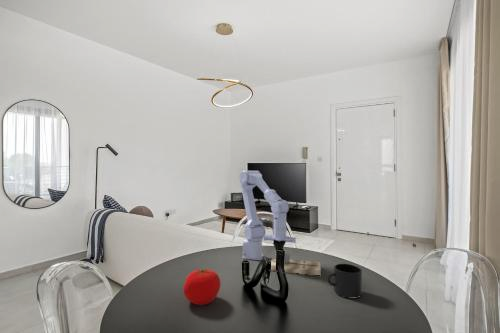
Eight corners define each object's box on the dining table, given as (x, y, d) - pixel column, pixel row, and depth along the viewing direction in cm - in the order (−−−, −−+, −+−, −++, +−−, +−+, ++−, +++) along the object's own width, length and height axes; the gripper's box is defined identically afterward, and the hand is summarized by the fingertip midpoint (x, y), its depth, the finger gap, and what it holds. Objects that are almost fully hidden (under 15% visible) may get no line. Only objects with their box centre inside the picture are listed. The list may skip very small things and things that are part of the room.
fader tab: (282, 263, 118) (282, 255, 118) (283, 259, 122) (283, 252, 122) (289, 263, 117) (289, 255, 117) (289, 260, 121) (290, 252, 121)
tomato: (176, 305, 85) (177, 273, 85) (198, 290, 96) (199, 261, 96) (206, 314, 80) (206, 279, 80) (225, 296, 91) (226, 266, 92)
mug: (323, 286, 101) (324, 263, 101) (355, 287, 101) (355, 263, 101) (331, 298, 92) (331, 272, 92) (365, 299, 91) (366, 273, 92)
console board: (268, 270, 116) (269, 264, 116) (272, 262, 126) (272, 257, 126) (320, 276, 111) (320, 270, 111) (320, 267, 120) (320, 262, 121)
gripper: (262, 228, 118) (261, 258, 118) (295, 230, 115) (294, 261, 114) (265, 224, 125) (264, 253, 125) (296, 227, 121) (295, 256, 121)
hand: (279, 257), depth 120 cm, fingers closed
